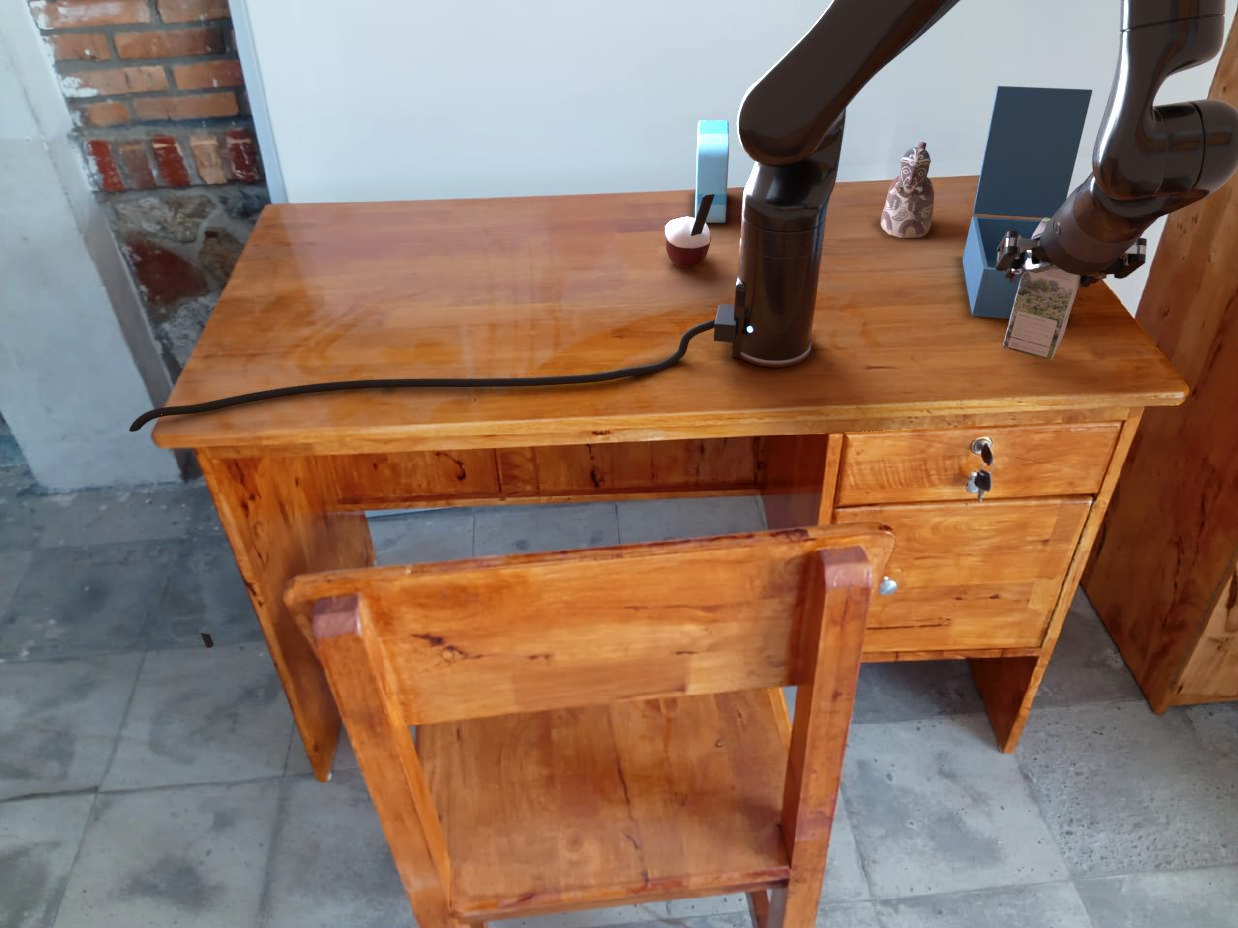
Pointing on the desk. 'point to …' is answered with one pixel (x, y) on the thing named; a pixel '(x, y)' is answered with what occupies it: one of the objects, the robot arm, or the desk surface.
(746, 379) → the desk surface
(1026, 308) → the syrup box
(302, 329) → the desk surface
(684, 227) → the ice cream cup
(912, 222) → the figurine
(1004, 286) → the box
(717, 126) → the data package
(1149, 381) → the desk surface
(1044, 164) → the lunchbox lid
